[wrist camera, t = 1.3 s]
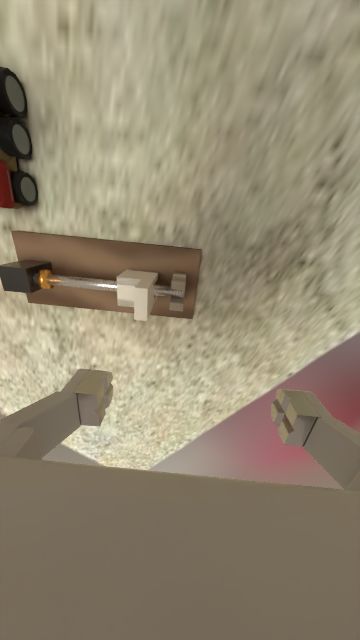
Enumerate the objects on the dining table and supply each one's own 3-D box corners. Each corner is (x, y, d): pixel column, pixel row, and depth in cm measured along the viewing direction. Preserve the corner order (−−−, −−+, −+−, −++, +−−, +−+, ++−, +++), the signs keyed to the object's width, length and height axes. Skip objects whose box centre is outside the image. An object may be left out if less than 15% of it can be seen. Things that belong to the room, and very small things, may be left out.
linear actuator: (18, 230, 33) (-26, 232, 26) (200, 249, 33) (204, 255, 27) (34, 299, 38) (0, 316, 31) (192, 315, 38) (193, 335, 32)
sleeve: (126, 269, 32) (105, 284, 24) (157, 272, 32) (147, 288, 24) (127, 294, 34) (107, 316, 26) (156, 297, 34) (146, 320, 26)
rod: (26, 259, 34) (-3, 265, 28) (186, 275, 34) (185, 284, 28) (31, 280, 35) (4, 290, 30) (183, 296, 35) (182, 308, 30)
